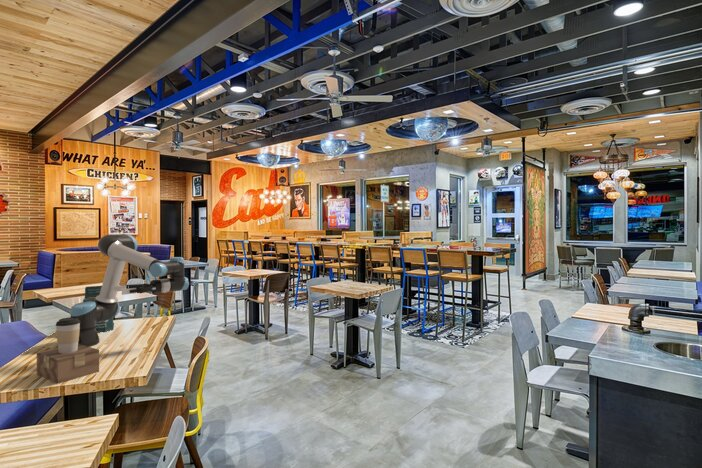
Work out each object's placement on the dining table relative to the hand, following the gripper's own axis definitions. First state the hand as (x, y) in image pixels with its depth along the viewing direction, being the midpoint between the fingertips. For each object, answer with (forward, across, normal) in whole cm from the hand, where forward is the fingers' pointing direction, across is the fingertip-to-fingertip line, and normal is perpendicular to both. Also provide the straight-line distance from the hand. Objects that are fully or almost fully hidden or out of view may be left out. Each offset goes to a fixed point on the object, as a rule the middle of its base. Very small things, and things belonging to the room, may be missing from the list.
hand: (117, 290), depth 195 cm
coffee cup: (+23, -10, -24) cm, 35 cm away
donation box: (-11, +66, -34) cm, 76 cm away
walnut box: (+23, -10, -34) cm, 42 cm away
